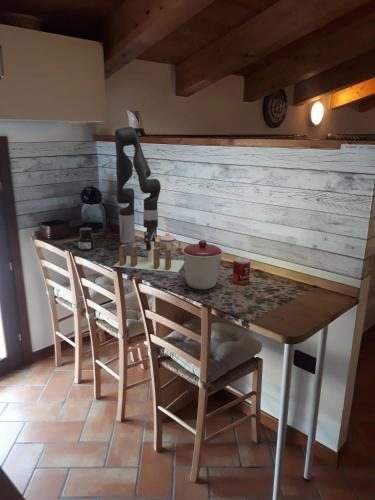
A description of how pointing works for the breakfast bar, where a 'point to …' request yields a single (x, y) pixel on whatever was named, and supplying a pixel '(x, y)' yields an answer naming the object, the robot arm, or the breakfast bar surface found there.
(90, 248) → the ink bottle
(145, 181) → the robot arm
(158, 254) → the domino
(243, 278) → the canned food
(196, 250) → the canister
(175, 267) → the mat
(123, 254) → the domino
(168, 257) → the domino
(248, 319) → the breakfast bar surface
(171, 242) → the teacup with lid
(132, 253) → the domino
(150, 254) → the domino
